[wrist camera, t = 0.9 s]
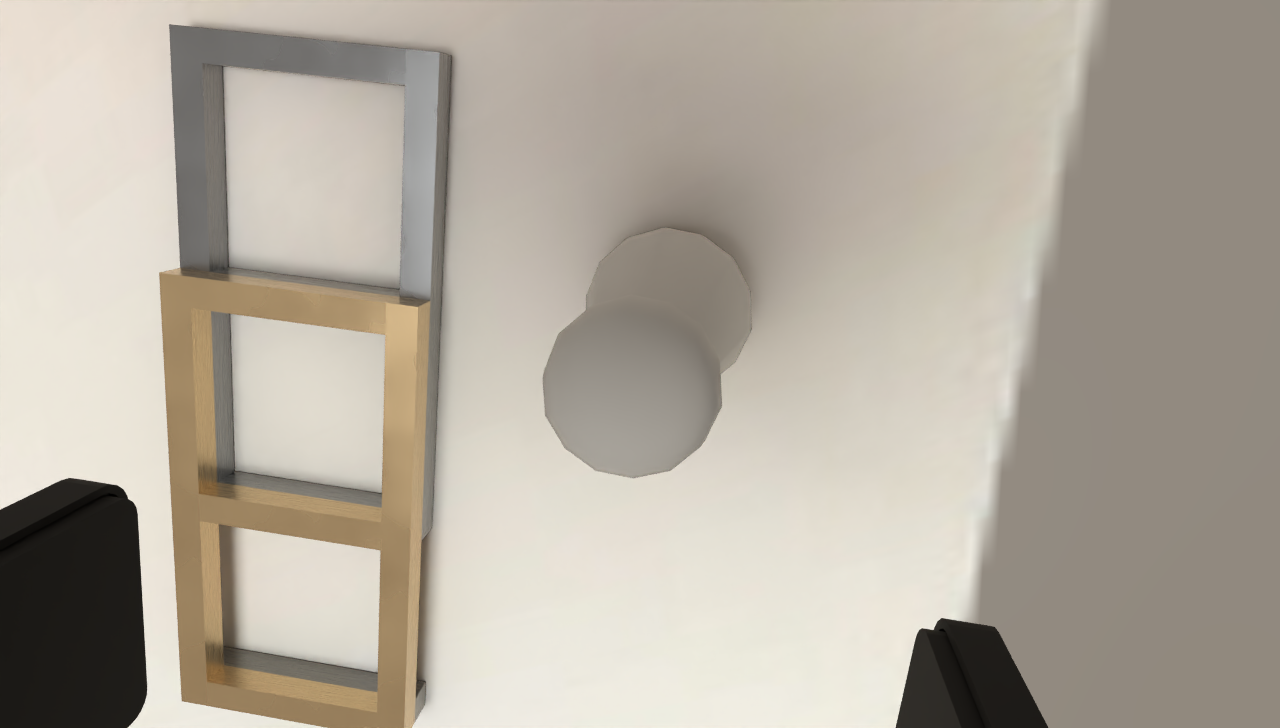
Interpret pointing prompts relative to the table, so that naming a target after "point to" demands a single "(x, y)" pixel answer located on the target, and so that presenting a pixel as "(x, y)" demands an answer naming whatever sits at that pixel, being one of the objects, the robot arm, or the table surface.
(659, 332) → the salt shaker
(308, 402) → the table surface
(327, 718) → the gold rectangular frame
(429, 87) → the grey rectangular frame
